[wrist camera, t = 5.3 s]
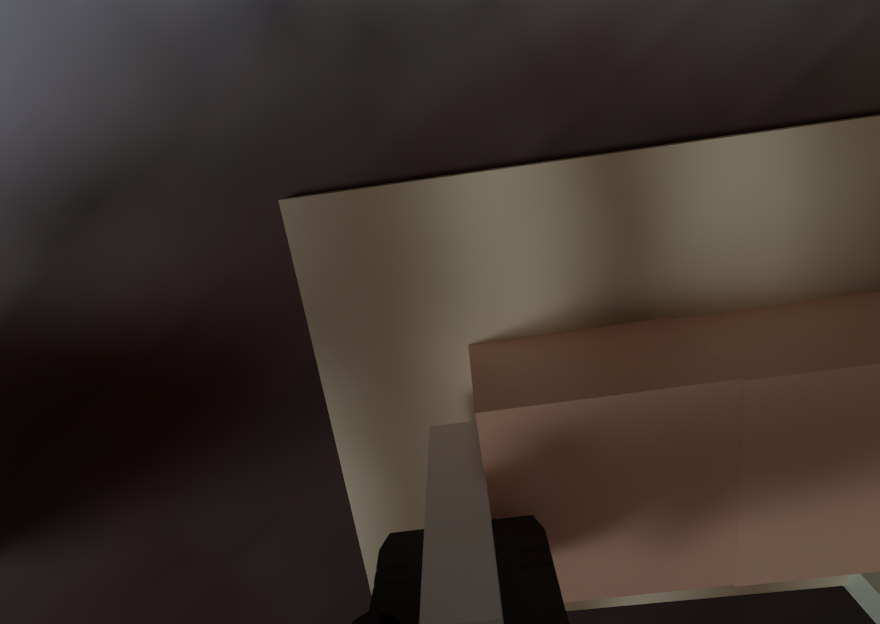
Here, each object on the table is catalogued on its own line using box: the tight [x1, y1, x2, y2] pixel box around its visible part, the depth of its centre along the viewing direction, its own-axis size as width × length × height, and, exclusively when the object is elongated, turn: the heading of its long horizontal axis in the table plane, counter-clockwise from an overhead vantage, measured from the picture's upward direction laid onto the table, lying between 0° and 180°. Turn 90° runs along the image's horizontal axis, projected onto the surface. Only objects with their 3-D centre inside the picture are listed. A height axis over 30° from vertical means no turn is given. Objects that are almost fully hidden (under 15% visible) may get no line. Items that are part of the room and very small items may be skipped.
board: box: [279, 114, 880, 611], centre depth 17 cm, size 17×16×1 cm
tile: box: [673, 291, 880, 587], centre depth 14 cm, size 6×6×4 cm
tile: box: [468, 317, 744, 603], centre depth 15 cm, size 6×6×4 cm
